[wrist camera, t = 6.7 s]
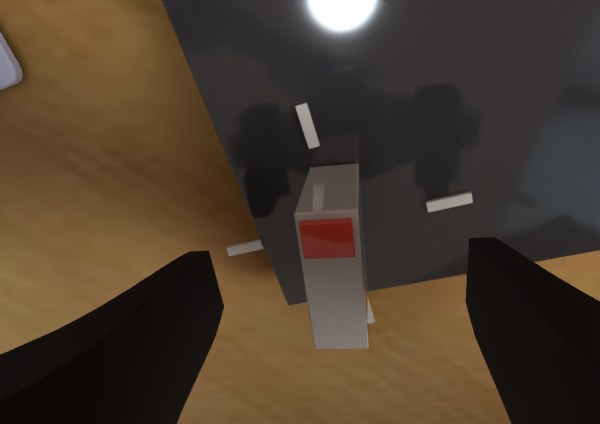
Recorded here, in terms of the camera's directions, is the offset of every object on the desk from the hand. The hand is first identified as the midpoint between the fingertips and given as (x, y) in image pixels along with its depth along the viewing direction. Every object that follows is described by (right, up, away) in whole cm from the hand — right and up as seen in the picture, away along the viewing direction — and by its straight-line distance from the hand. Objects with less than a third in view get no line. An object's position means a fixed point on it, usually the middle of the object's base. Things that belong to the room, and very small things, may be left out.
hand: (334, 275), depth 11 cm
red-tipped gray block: (0, +1, +3) cm, 3 cm away
